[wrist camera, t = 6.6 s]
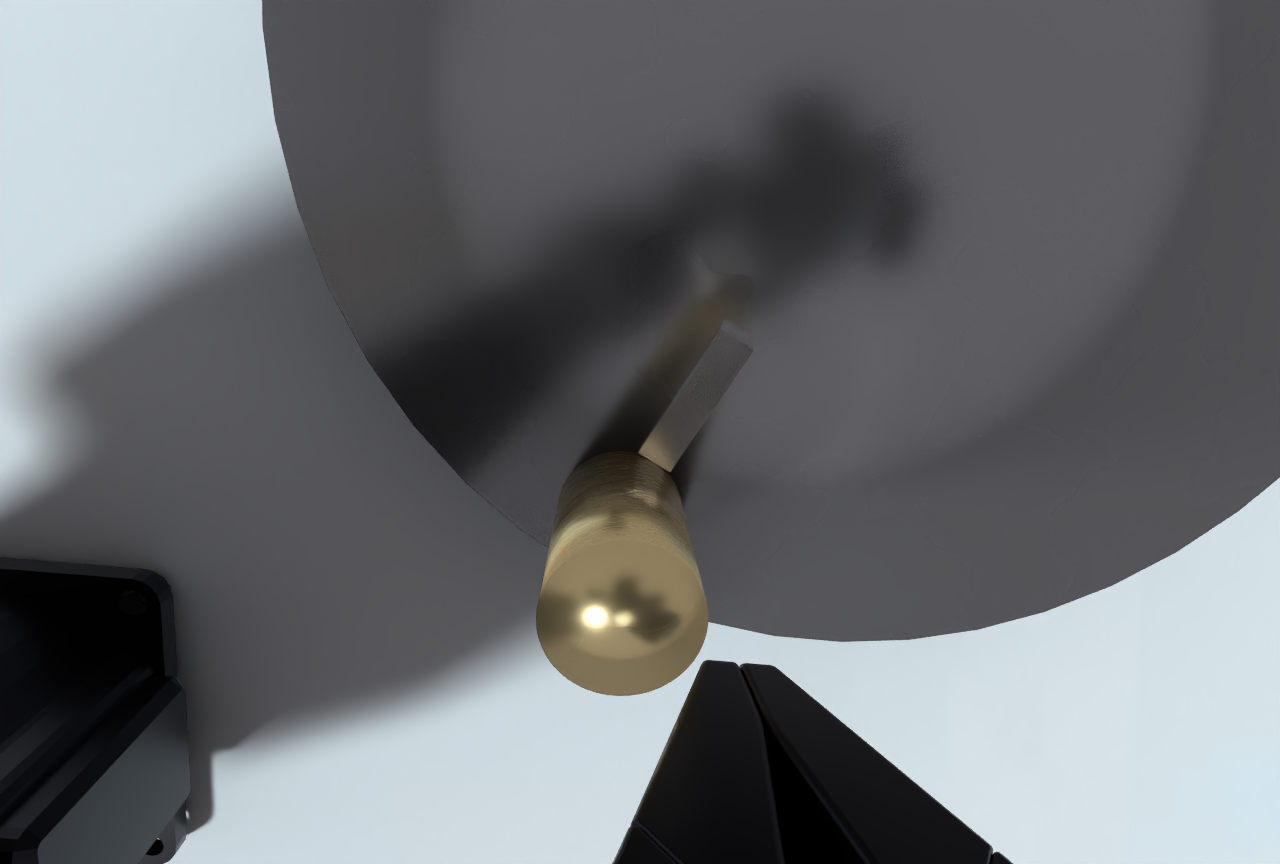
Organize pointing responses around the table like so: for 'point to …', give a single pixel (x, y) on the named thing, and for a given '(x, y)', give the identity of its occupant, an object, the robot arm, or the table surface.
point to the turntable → (806, 292)
